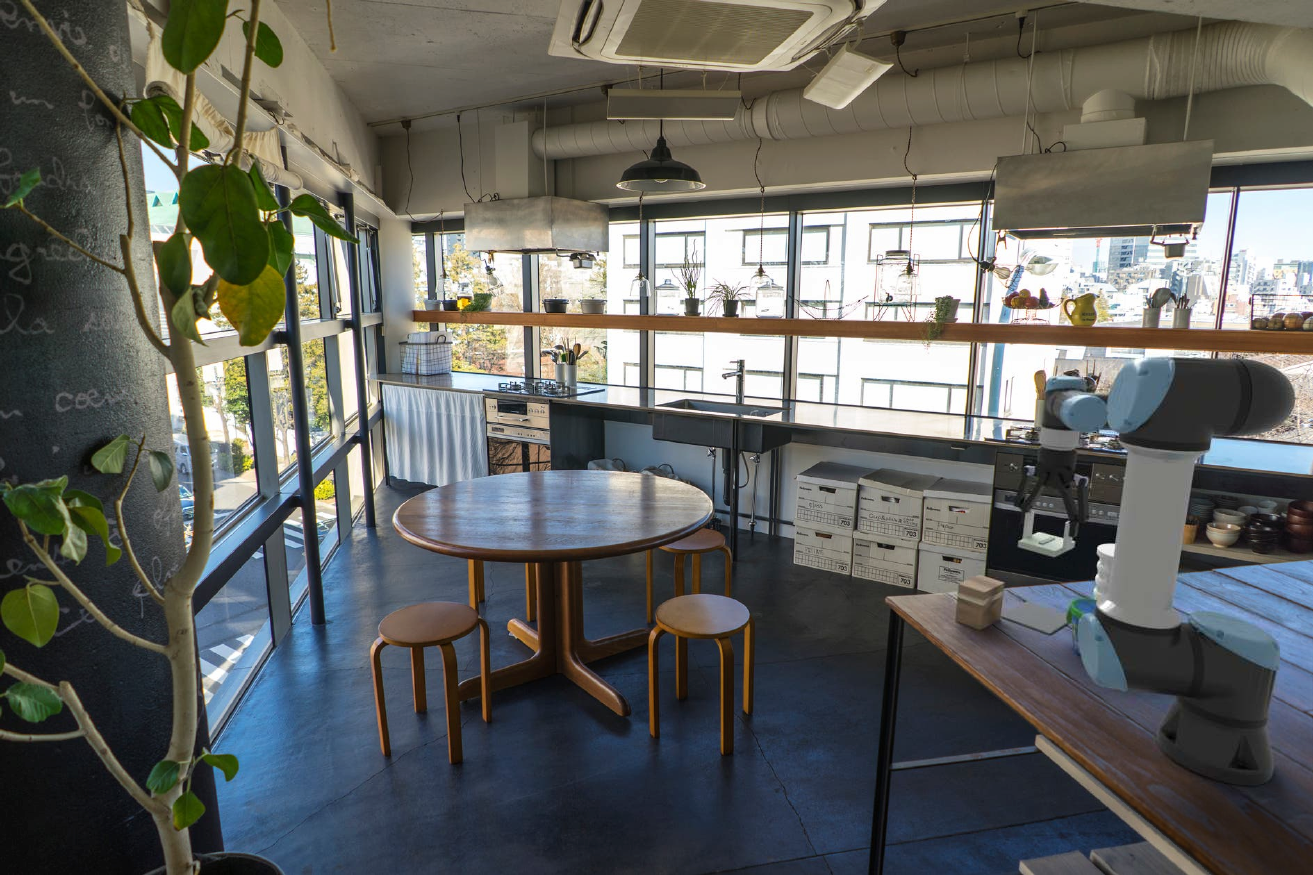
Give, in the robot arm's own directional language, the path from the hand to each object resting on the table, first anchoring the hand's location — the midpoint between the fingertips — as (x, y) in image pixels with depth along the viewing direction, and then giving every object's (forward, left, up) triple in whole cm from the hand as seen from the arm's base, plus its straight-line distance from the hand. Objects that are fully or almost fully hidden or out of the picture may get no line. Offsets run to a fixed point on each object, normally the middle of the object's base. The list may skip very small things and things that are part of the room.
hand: (1046, 543), depth 163 cm
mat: (0, 0, -18) cm, 18 cm away
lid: (0, 0, -1) cm, 1 cm away
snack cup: (-8, -15, -18) cm, 25 cm away
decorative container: (+9, -13, -18) cm, 24 cm away
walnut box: (-12, +8, -18) cm, 23 cm away
